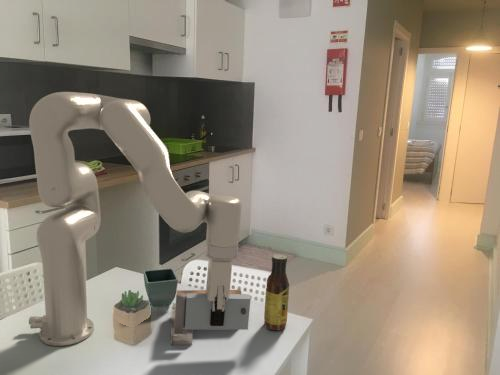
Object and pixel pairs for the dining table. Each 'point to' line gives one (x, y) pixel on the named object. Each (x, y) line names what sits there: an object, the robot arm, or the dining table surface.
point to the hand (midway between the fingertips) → (216, 321)
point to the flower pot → (160, 286)
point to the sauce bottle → (277, 295)
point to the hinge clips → (175, 335)
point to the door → (199, 312)
